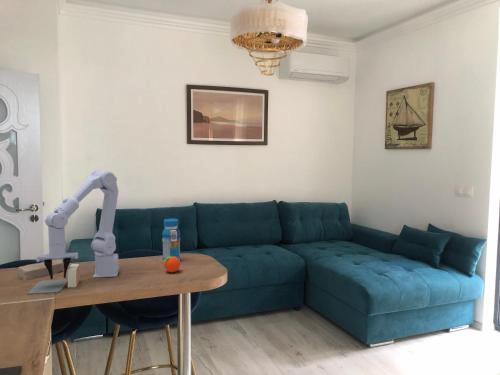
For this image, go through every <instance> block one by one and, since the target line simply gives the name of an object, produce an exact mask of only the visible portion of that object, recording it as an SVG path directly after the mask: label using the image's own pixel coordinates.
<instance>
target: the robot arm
mask: <svg viewBox="0 0 500 375" xmlns="http://www.w3.org/2000/svg"><path fill="white" fill-rule="evenodd" d="M117 179H118V177H117V176H116V175H115V174H114V172H111V171H102V170H101V171H100V170H94V171H93V172H92V173H91V174H90V175H88V176H87V179H86V180H85V181H84V182H83V184H82V185H81V186H80V187H79V188H78V190H77V191H76V192H75V193H74V194H73V195H72V196H71V197H66V198H63V200H62V202H61V203H60V204H59V205H58V206H57V208H54V209H53V211H52V212H49V213H48V214H47V215H46V217H45V220H44V223H45V225H46V226H47V227H48V230H47V232H48V234H47V236H48V253H47V254H40V255H36V257H35V258H36V261H35V262H36V263H41V262H44V264H45V266H46V268H47V270H48V272H49V274H50V275H49V278H50V280H54V274H53V271H52V260H59V261H60V260H63V261H62V262H63V265H64V270H63V279H66V277H67V273H68V269H69V267H70V265H71V264H70V263H71V260H72V259H78V258H79V252H66V230H65V226H67V224H68V221H69V219H70V218H71V216H72V215H73V214H74V213H75V212H76V211H77V210H78V209H79V208H80V203H81V201H82V200H84V199H85V198H86V197H87V196H88V195H89V194H90V193H91V192H92V191H93V190H95V189H100V191H101V192H102V193H103V194H104V195H103V200H102V201H103V202H102V209H101V214H100V221H99V227H98V230H97V232H96V233H95V234H94V237H93V240H92V241H91V245H90V247H91V249H92V250H93V251H94V270H95V271H94V272H95V273H94V274H93V275H92V278H109V277H118V274H119V272H120V265H119V253H114V252H115V251H116V249H117V245H116V236H115V235H114V233H113V230H114V223H115V217H116V210H117V209H116V208H117V205H118V204H117V203H118V197H119V188H118V185H117V181H118V180H117Z"/></svg>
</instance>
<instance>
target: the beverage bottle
mask: <svg viewBox="0 0 500 375" xmlns="http://www.w3.org/2000/svg"><path fill="white" fill-rule="evenodd" d="M163 227H164V229H163V231H162V234H161V235H162V239H161V242H162V261H163V262H165V261H164V260H165V259H166V258H167V257H170V256H175V257H177V258H178V259H179V261H180V260H181V254H180V253H181V248H180V246H181V245H180V242H181V237H180V235H181V233H180V229H179V219H178V218H164V219H163Z"/></svg>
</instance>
